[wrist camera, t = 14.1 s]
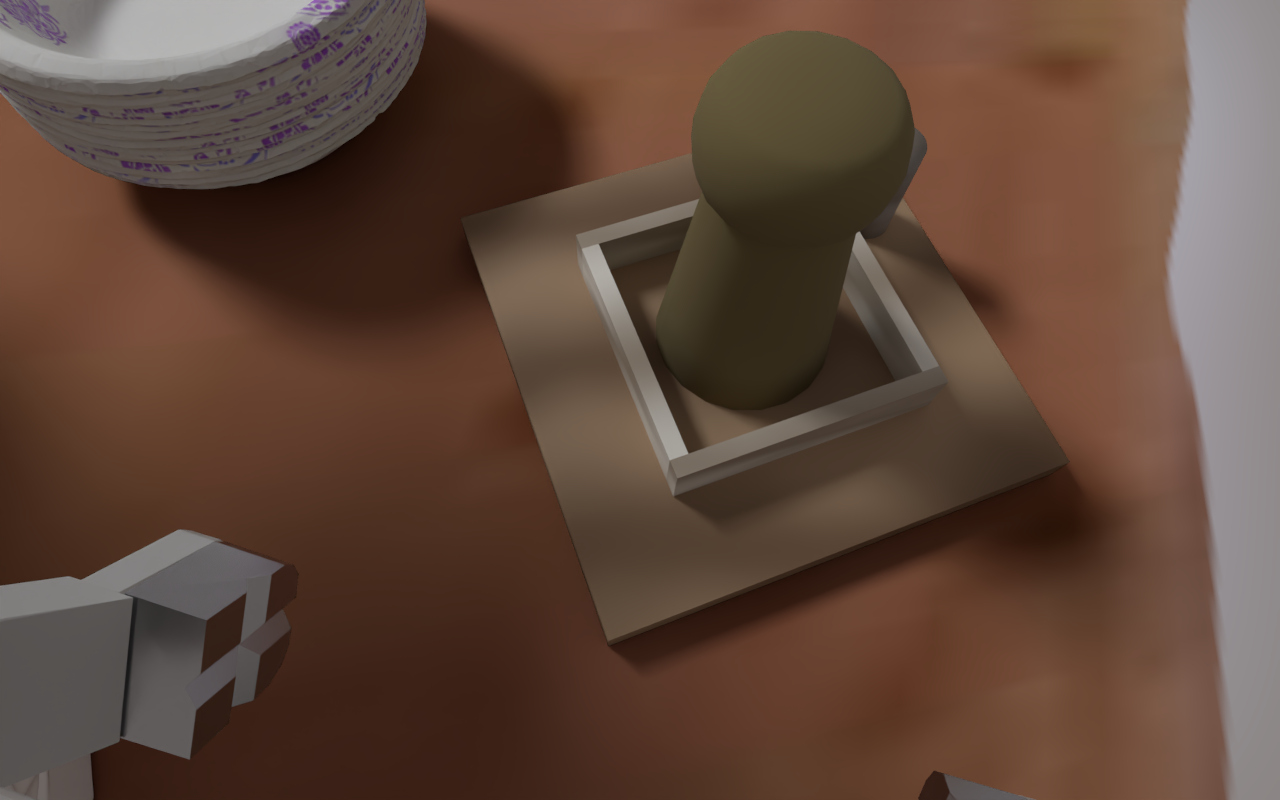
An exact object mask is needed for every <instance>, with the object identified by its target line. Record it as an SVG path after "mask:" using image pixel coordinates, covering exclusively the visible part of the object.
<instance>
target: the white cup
mask: <svg viewBox="0 0 1280 800" xmlns="http://www.w3.org/2000/svg"><path fill="white" fill-rule="evenodd" d="M5 788H7V789H10V790H12V791H15V792H18V793H21V794H24V795H26V796H29V797H32V798H35V799H37V800H93V797H94V793H93V780H92V767H91V754H87V755H85V756H82V757H80V758H77V759H75V760H72V761H70V762H67V763H65V764H62V765H60V766H57V767H55V768H52V769H50V770H47V771H45V772H42V773H40V774H37V775H35V776H32V777H30V778H27V779H25V780H22V781H20V782H17V783H15V784H12V785H10V786H7V787H5Z"/></svg>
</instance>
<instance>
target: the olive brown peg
mask: <svg viewBox="0 0 1280 800" xmlns="http://www.w3.org/2000/svg"><path fill="white" fill-rule="evenodd" d="M914 136H915V128H914V123H913V117H912V112H911V107H910V103H909V100H908V97H907V94H906V91H905V89H904V88H903V86H902V84H901V83H900V81H899V79H898V78H897V76H896V74H895V73H894V71H893V70H892V69H891V68H890V67H889V66H888V65H887V64H886V63H884V62H883V61H882V60H881V59H880V58H879V57H878V56H877V55H875V54H874V53H873V52H872V51H870V50H868V49H866V48H864V47H862V46H860V45H858V44H856V43H854V42H852V41H850V40H848V39H846V38H842V37H838V36H834V35H830V34H826V33H822V32H818V31H786V32H781V33H777V34H772V35H768V36H763V37H761V38H759V39H757V40H755V41H753V42H751V43H749V44H747V45H746V46H744V47H742V48H740V49H739V50H737V51H736V52H735V53H734V54H733V55H732V56H731V57H729V58H728V59H727V60H726V61H725V62H724V63H723V65H722V66H721V67H720V68H719V69H718V70H717V71H716V72H715V73H714V74H713V75H712V76H711V77H710V79H709V81H708V83H707V85H706V87H705V90H704V92H703V94H702V96H701V99H700V102H699V104H698V107H697V109H696V112H695V114H694V117H693V125H692V134H691V139H692V163H693V167H694V171H695V175H696V179H697V181H698V183H699V186H700V188H701V190H702V193H701V195H700V198H699V201H698V204H697V206H696V209H695V212H694V215H693V217H692V220H691V223H690V226H689V228H688V231H687V234H686V237H685V239H684V242H683V245H682V248H681V250H680V253H679V256H678V259H677V262H676V264H675V267H674V270H673V273H672V275H671V278H670V281H669V284H668V286H667V289H666V292H665V295H664V297H663V300H662V303H661V306H660V308H659V311H658V314H657V317H656V342H657V345H658V348H659V350H660V353H661V356H662V358H663V361H664V364H665V366H666V367H667V368H668V369H669V371H670V372H671V373H672V374H673V376H674V377H675V378H676V379H677V380H678V382H679V383H680V384H681V385H682V386H683V387H684V388H686V389H687V390H689V391H690V392H692V393H693V394H695V395H696V396H698V397H700V398H701V399H703V400H704V401H706V402H709V403H712V404H716V405H719V406H722V407H725V408H729V409H732V410H763V409H766V408H770V407H773V406H777V405H780V404H783V403H787V402H789V401H790V400H792V399H793V398H794V397H796V396H797V395H799V394H800V393H802V392H803V391H804V390H806V389H807V388H809V386H810V385H811V384H812V382H813V381H814V379H815V378H816V376H817V375H818V374H819V372H820V371H821V369H822V368H823V365H824V361H825V357H826V353H827V349H828V345H829V341H830V337H831V333H832V329H833V325H834V321H835V317H836V313H837V309H838V305H839V301H840V297H841V293H842V289H843V285H844V281H845V277H846V273H847V268H848V264H849V260H850V256H851V252H852V248H853V244H854V240H855V236H856V233H858V232H859V231H861V230H862V229H864V228H866V227H867V226H869V225H870V224H871V223H872V222H873V221H874V220H875V219H876V218H877V217H878V216H879V215H880V214H881V213H882V212H883V211H884V209H885V208H886V207H887V205H888V204H889V203H890V201H891V200H892V199H893V197H894V196H895V194H896V193H897V192H898V190H899V188H900V186H901V184H902V183H903V181H904V179H905V177H906V175H907V171H908V167H909V162H910V158H911V154H912V149H913V143H914Z"/></svg>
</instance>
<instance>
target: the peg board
mask: <svg viewBox="0 0 1280 800" xmlns="http://www.w3.org/2000/svg"><path fill="white" fill-rule="evenodd" d="M926 151H927V143H926V140H925V138H924V136H923V135H922V134H921V133H920V131H918V130H917V129H916V128H915V136H914V143H913V149H912V154H911V158H910V162H909V167H908V171H907V175H906V177H905V179H904V181H903V183H902V184H901V186H900V188H899V190H898V192H897V193H896V194H895V196H894V197H893V199H892V200H891V201H890V203H889V204H888V205H887V207H886V208H885V209H884V211H883V212H882V213H881V214H880V215H879V216H878V217H877V218H876V219H875V220H874V221H873V222H872V223H871V224H870V225H869V226H867V227H866V228H864V229H862V230H861V231H859V232H858V233H856V236H855V240H854V244H853V248H852V252H851V256H850V260H849V264H848V268H847V273H846V277H845V281H844V285H843V289H842V293H841V297H840V301H839V305H838V309H837V313H836V317H835V321H834V325H833V329H832V333H831V337H830V341H829V345H828V349H827V353H826V357H825V361H824V365H823V368H822V369H821V371H820V372H819V374H818V375H817V376H816V378H815V379H814V381H813V382H812V384H811V385H810V386H809V388H807V389H806V390H804V391H803V392H802V393H800V394H799V395H797V396H796V397H794V398H793V399H792V400H790V401H789V402H787V403H783V404H780V405H777V406H773V407H770V408H766V409H763V410H732V409H729V408H725V407H722V406H719V405H716V404H712V403H709V402H706V401H704V400H703V399H701V398H700V397H698V396H696V395H695V394H693V393H692V392H690V391H689V390H687V389H686V388H684V387H683V386H682V385H681V384H680V383H679V382H678V380H677V379H676V378H675V377H674V376H673V374H672V373H671V372H670V371H669V369H668V368H667V367H666V366H665V364H664V361H663V358H662V356H661V353H660V350H659V348H658V345H657V342H656V317H657V314H658V311H659V308H660V306H661V303H662V300H663V297H664V295H665V292H666V289H667V286H668V284H669V281H670V278H671V275H672V273H673V270H674V267H675V264H676V262H677V259H678V256H679V253H680V250H681V248H682V245H683V242H684V239H685V237H686V234H687V231H688V228H689V226H690V223H691V220H692V217H693V215H694V212H695V209H696V206H697V204H698V201H699V198H700V195H701V193H702V190H701V188H700V186H699V183H698V181H697V179H696V175H695V171H694V167H693V163H692V153H691V154H687V155H684V156H680V157H677V158H673V159H669V160H666V161H662V162H659V163H655V164H652V165H648V166H644V167H641V168H637V169H634V170H630V171H627V172H623V173H619V174H616V175H612V176H609V177H605V178H602V179H598V180H594V181H591V182H587V183H584V184H580V185H576V186H573V187H569V188H566V189H562V190H559V191H555V192H551V193H548V194H544V195H541V196H537V197H534V198H530V199H526V200H523V201H519V202H516V203H512V204H509V205H505V206H501V207H498V208H494V209H491V210H487V211H483V212H480V213H476V214H473V215H469V216H466V217H462V218H461V222H462V225H463V229H464V232H465V236H466V239H467V242H468V244H469V247H470V250H471V253H472V256H473V259H474V262H475V265H476V267H477V270H478V273H479V276H480V279H481V282H482V285H483V288H484V290H485V293H486V296H487V299H488V302H489V305H490V308H491V311H492V313H493V316H494V319H495V322H496V325H497V328H498V331H499V333H500V336H501V339H502V342H503V345H504V348H505V351H506V354H507V356H508V359H509V362H510V365H511V368H512V371H513V374H514V377H515V379H516V382H517V385H518V388H519V391H520V394H521V397H522V400H523V402H524V405H525V408H526V411H527V414H528V417H529V420H530V422H531V425H532V428H533V431H534V434H535V437H536V440H537V443H538V445H539V448H540V451H541V454H542V457H543V460H544V463H545V466H546V468H547V471H548V474H549V477H550V480H551V483H552V486H553V489H554V491H555V494H556V497H557V500H558V503H559V506H560V509H561V511H562V514H563V517H564V520H565V523H566V526H567V529H568V532H569V534H570V537H571V540H572V543H573V546H574V549H575V552H576V555H577V557H578V560H579V563H580V566H581V569H582V572H583V575H584V578H585V580H586V583H587V586H588V589H589V592H590V595H591V598H592V600H593V603H594V606H595V609H596V612H597V615H598V618H599V621H600V623H601V626H602V629H603V632H604V635H605V638H606V641H607V644H608V646H610V645H613V644H615V643H618V642H620V641H623V640H625V639H628V638H631V637H633V636H636V635H638V634H641V633H643V632H646V631H649V630H651V629H654V628H656V627H659V626H661V625H664V624H667V623H669V622H672V621H674V620H677V619H679V618H682V617H685V616H687V615H690V614H692V613H695V612H697V611H700V610H703V609H705V608H708V607H710V606H713V605H715V604H718V603H721V602H723V601H726V600H728V599H731V598H733V597H736V596H739V595H741V594H744V593H746V592H749V591H751V590H754V589H757V588H759V587H762V586H764V585H767V584H769V583H772V582H775V581H777V580H780V579H782V578H785V577H787V576H790V575H793V574H795V573H798V572H800V571H803V570H805V569H808V568H811V567H813V566H816V565H818V564H821V563H823V562H826V561H829V560H831V559H834V558H836V557H839V556H841V555H844V554H847V553H849V552H852V551H854V550H857V549H859V548H862V547H865V546H867V545H870V544H872V543H875V542H877V541H880V540H883V539H885V538H888V537H890V536H893V535H895V534H898V533H901V532H903V531H906V530H908V529H911V528H913V527H916V526H919V525H921V524H924V523H926V522H929V521H931V520H934V519H937V518H939V517H942V516H944V515H947V514H949V513H952V512H955V511H957V510H960V509H962V508H965V507H967V506H970V505H973V504H975V503H978V502H980V501H983V500H985V499H988V498H991V497H993V496H996V495H998V494H1001V493H1003V492H1006V491H1009V490H1011V489H1014V488H1016V487H1019V486H1021V485H1024V484H1027V483H1029V482H1032V481H1034V480H1037V479H1039V478H1042V477H1045V476H1047V475H1050V474H1052V473H1053V472H1055V471H1057V470H1058V469H1060V468H1061V467H1063V466H1064V465H1066V464H1068V463H1069V462H1070V461H1069V460H1068V458H1067V457H1066V455H1065V453H1064V452H1063V450H1062V449H1061V447H1060V446H1059V444H1058V442H1057V441H1056V439H1055V438H1054V436H1053V434H1052V433H1051V431H1050V430H1049V428H1048V427H1047V425H1046V423H1045V422H1044V420H1043V419H1042V417H1041V415H1040V414H1039V412H1038V411H1037V409H1036V408H1035V406H1034V404H1033V403H1032V401H1031V400H1030V398H1029V396H1028V395H1027V393H1026V392H1025V390H1024V389H1023V387H1022V385H1021V384H1020V382H1019V381H1018V379H1017V378H1016V376H1015V374H1014V373H1013V371H1012V370H1011V368H1010V366H1009V365H1008V363H1007V362H1006V360H1005V359H1004V357H1003V355H1002V354H1001V352H1000V351H999V349H998V347H997V346H996V344H995V343H994V341H993V340H992V338H991V336H990V335H989V333H988V332H987V330H986V328H985V327H984V325H983V324H982V322H981V321H980V319H979V317H978V316H977V314H976V313H975V311H974V309H973V308H972V306H971V305H970V303H969V302H968V300H967V298H966V297H965V295H964V294H963V292H962V291H961V289H960V287H959V286H958V284H957V283H956V281H955V279H954V278H953V276H952V275H951V273H950V272H949V270H948V268H947V267H946V265H945V264H944V262H943V260H942V259H941V257H940V256H939V254H938V253H937V251H936V249H935V248H934V246H933V245H932V243H931V241H930V240H929V238H928V237H927V235H926V234H925V232H924V230H923V229H922V227H921V226H920V224H919V222H918V221H917V219H916V218H915V216H914V215H913V213H912V211H911V210H910V208H909V207H908V205H907V204H906V202H905V200H904V199H903V196H904V194H905V192H906V190H907V188H908V187H909V185H910V183H911V181H912V179H913V177H914V175H915V173H916V171H917V169H918V167H919V165H920V164H921V162H922V160H923V158H924V156H925V154H926Z"/></svg>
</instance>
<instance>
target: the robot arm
mask: <svg viewBox="0 0 1280 800" xmlns="http://www.w3.org/2000/svg"><path fill="white" fill-rule="evenodd" d="M298 577H299V573H298V572H297V570H296V568H295V566H294V565H293V564H290V563H287V562H284V561H281V560H278V559H275V558H272V557H269V556H267V555H264V554H261V553H258V552H255V551H252V550H249V549H246V548H243V547H240V546H237V545H234V544H232V543H229V542H226V541H221V540H220V539H218V538H214V537H211V536H208V535H205V534H201V533H198V532H195V531H191V530H180V529H179V530H177V531H175V532H173V533H171V534H169V535H167V536H165V537H163V538H161V539H159V540H157V541H156V542H154V543H152V544H150V545H148V546H146V547H144V548H142V549H140V550H138V551H136V552H134V553H132V554H130V555H128V556H126V557H124V558H123V559H121V560H119V561H117V562H115V563H113V564H111V565H109V566H107V567H105V568H103V569H101V570H99V571H97V572H95V573H93V574H92V575H90V576H88V577H86V578H84V579H82V580H79V579H76V578H73V577H70V576H67V577H60V578H53V579H46V580H39V581H31V582H24V583H17V584H10V585H2V586H0V800H37V799H35V798H32V797H29V796H26V795H24V794H21V793H18V792H15V791H12V790H10V789H7V788H5V787H7V786H10V785H12V784H15V783H17V782H20V781H22V780H25V779H27V778H30V777H32V776H35V775H37V774H40V773H42V772H45V771H47V770H50V769H52V768H55V767H57V766H60V765H62V764H65V763H67V762H70V761H72V760H75V759H77V758H80V757H82V756H85V755H87V754H90V753H92V752H95V751H98V750H100V749H103V748H105V747H108V746H110V745H113V744H115V743H118V742H119V741H120V738H122V739H125V740H129V741H132V742H135V743H138V744H141V745H145V746H148V747H151V748H154V749H157V750H161V751H164V752H167V753H170V754H173V755H177V756H180V757H183V758H186V759H189V760H190V759H191V758H192V757H193V756H194V755H195V754H196V753H197V752H198V751H200V750H201V749H202V748H203V747H204V746H205V745H206V744H207V743H208V742H209V741H210V740H211V739H212V738H214V737H215V736H216V735H217V734H218V733H219V732H220V731H221V730H222V729H223V728H224V727H225V726H226V725H228V724H229V720H230V714H231V707H233V706H236V705H240V704H243V703H246V702H249V701H253V700H254V699H255V698H256V697H257V696H258V695H259V694H260V693H261V692H262V691H263V690H264V689H265V688H266V687H268V686H269V684H270V682H271V681H272V679H273V678H274V676H275V674H276V673H277V671H278V670H279V668H280V666H281V665H282V662H283V659H284V657H285V654H286V651H287V648H288V645H289V639H290V633H291V626H290V624H289V622H288V620H287V618H286V615H285V613H284V611H283V608H284V607H285V606H287V605H288V604H289V603H290V602H291V601H292V600H294V599H295V598H296V594H297V585H298ZM918 799H919V800H1035V799H1031V798H1027V797H1024V796H1019V795H1015V794H1012V793H1008V792H1005V791H1002V790H998V789H995V788H991V787H988V786H985V785H981V784H978V783H974V782H971V781H968V780H964V779H961V778H958V777H954V776H951V775H947V774H944V773H941V772H937V771H933V772H932V774H931V775H930V776H929V777H928V778H927V780H926V781H925V784H924V786H923V788H922V790H921V793H920V795H919V797H918Z"/></svg>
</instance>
